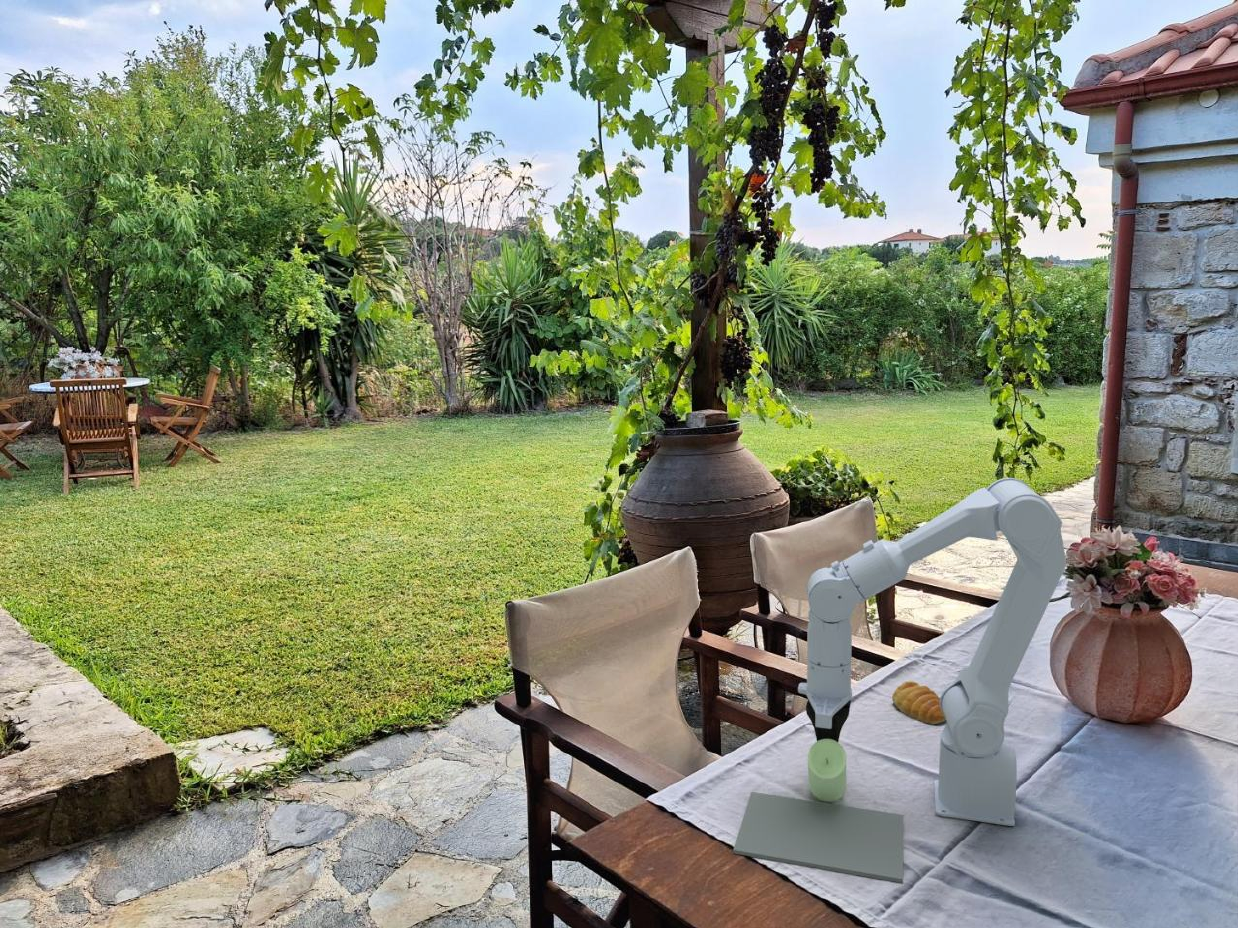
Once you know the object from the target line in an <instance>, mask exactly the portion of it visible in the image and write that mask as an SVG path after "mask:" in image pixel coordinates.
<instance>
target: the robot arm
mask: <svg viewBox="0 0 1238 928" xmlns="http://www.w3.org/2000/svg"><path fill="white" fill-rule="evenodd" d="M1062 525H1063V521H1062V520H1061V518H1060V516H1059V515H1058V514H1057V512H1056V510H1055V509H1054V508H1053V506H1052V505H1051V503H1050V502H1049V501H1048V500H1047V499H1046V498H1045V497H1043V496H1041V495H1040V494H1037V493H1036V492H1035V491H1034V490H1033V489H1032V488H1031V487H1030V486H1029V485H1028V484H1027V483H1026V482H1024V481H1023V480H1021V479H1018V478H1013V477H1003V478H1000V479H997V480H996V481H995V480H994V481H993V482H992V483H991V484H990V485H988V486H987V488H986V487H985V486H984V487H982V488H979V489H977V490H975V491H973V492H972V493H970V494H969V495H968V496H967V497H965V498H963V500H961V501H959V502H958V503H956V504H954V505H953V506H952V507H950V508H948V509H947V510H946V511H943V512H942V513H940V514H938V515H937V516H935V517H934V518H932V519H930V520H928V521H927V522H925V523H924V524H923V525H921V526H919V527H918V528H916V529H914V530H913V531H912V532H910V533H908V534H907V535H905V536H904V537H901V539H898V540H897V541H892V540H887V539H879V540H878V541H876V542H873V541H872V539H869V540H868V541H866V542H864V543H862V547H863V549H862V550H860V551H858V552H857V553H855V554H853V555H851V556H849V557H848V558H845V559H843V560H842V561H840V562H839V561H838V560H835V561H834V562H832V563H831V564H830V567H827V566H826V567H823V568H819V569H817V570H815V572H813V573H812V574H811V576H810V578H809V579H808V581H807V584H806V587H805V589H806V594H807V596H808V597H807V598H808V605H809V611H808V612H807V613H808V616H807V617H808V618H807V619H808V623H807V632H806V633H807V643H806V644H807V646H806V647H807V649H806V650H807V651H806V656H807V657H806V658H807V659H806V660H807V662H806V663H807V665H806V667H807V668H806V672H807V673H806V682H800V683H798V687H797V692H798V693H799V694H802V695H806V697H807V702H806V705H805V712H806V715H807V717H808V718H809V721H810V722H811V724H812V726H813V730H814V734H815V738H816V742H817V741H819V740H822V739H832V740H835V741H836V742H838V743H839V740H840V735H841V732H842V729H843V727H844V725H845V723H846V721H847V719H848V718H849V716H850V711H851V706H852V705H851V703H852V698H853V689H852V687H851V686H852V649H853V648H852V644H853V643H852V642H853V641H852V640H853V639H852V637H853V636H852V635H853V633H852V632H853V627H852V625H851V616H852V615H853V614H854V611H855V609H856V606H857V605H858V604H859V603H863V602H865V601H866V600H868V599H870V598H872V597H874V596H875V595H877V594H879V593H882V592H883V591H885V590H886V589H889V588H890V587H892V586H894V585H895V584H897V583H899V582H902V581H904V580H905V579H906V578H907V575H908V571H909V569H910V567H911V565H912V564H915V563H917V562H919V561H921V560H923V559H925V558H927V557H929V556H931V555H933V554H936V553H938V552H939V551H942V550H943V549H945V548H948V547H949V546H952V545H954V544H956V543H957V542H960V541H962V540H965V539H966V538H975V539H976V538H977V539H981V540H989V541H996V542H997V541H999V539H998V538H999V537H998V535H997V532H1001V534H1002V535H1003V536H1004V537H1005V538H1006V541H1007V542H1008V544H1009V545H1010V548H1011V549H1012V552H1013V553H1014V555H1015V557H1016V563H1015V564H1014V566H1013V569H1012V571H1011V572H1010V575H1009V578H1008V580H1007V582H1006V584H1005V586H1004V589H1003V590H1002V593H1001V594H1000V597H999V600H998V602H997V604H996V606H995V608H994V611H993V613H992V615H991V617H990V619H989V622H988V624H987V626H986V629H985V631H984V633H983V635H982V637H981V639H980V641H979V644H978V646H977V649H976V650H975V652H974V655H973V657H972V659H971V662H970V664H969V665H968V666H966V667H964V668H962V669H961V670H960V671H959V673H958V675H957V677H956V678H955V680H954V681H953V682H952V683H950V684H949V685H948V686H947V687H945V688H944V689H943V691H942V692H941V695H940V708H941V711H942V712H943V714H944V715H945V718H946V720H945V721H946V723H945V726H944V727H943V729H942V731H941V732H940V742H939V745H940V746H939V765H938V767H939V768H938V779H935V780H934V782H933V789H934V807H935V811H934V812H935V814H936V815H938V816H942V817H948V818H954V819H962V820H969V821H974V822H981V823H988V824H995V825H1002V826H1009V827H1014V826H1015V814H1016V813H1015V812H1016V811H1015V810H1016V801H1017V777H1018V776H1017V775H1018V773H1017V772H1018V770H1017V767H1018V765H1017V764H1018V763H1017V753H1016V748H1015V747H1014V746H1012V745H1007V744H1004V741H1005V727H1004V726H1005V721H1006V719H1007V716H1008V714H1009V690H1010V686H1011V685H1012V682H1013V680H1014V678H1015V677H1016V674H1017V672H1018V670H1019V667H1020V665H1021V663H1022V661H1023V659H1024V656H1025V654H1026V653H1027V650H1028V648H1029V646H1030V644H1031V642H1032V639H1033V638H1034V636H1035V633H1036V631H1037V629H1038V627H1039V625H1040V622H1041V620H1042V618H1043V616H1044V614H1045V612H1046V609H1048V605H1049V604H1050V601H1051V599H1052V597H1053V595H1054V593H1055V590H1056V588H1057V586H1058V585H1059V582H1060V580H1061V578H1062V577H1063V576H1062V575H1063V573H1064V571H1065V570H1066V565H1067V558H1066V553H1065V547H1064V542H1063V536H1062Z"/></svg>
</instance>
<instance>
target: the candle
mask: <svg viewBox="0 0 1238 928" xmlns="http://www.w3.org/2000/svg"><path fill="white" fill-rule="evenodd" d="M807 770H808V771H807V772H808V787H809V790H810V791H811V793H812V795H813V796H815V798H817V799H819V800H820V801H821V802H822V801H823V802H825V803H831V802H832V803H833V802H836V801H838V800H840V799H841V798H842V797H843V796H844V795H845V793H846V790H847V753H846V751H845V749H844V747H843V746H842V744H840V743H839V742H836V741H835V740H832V739H822V740H819V741H817V740H816V742H814V743H813V744H812V745H811V747H810V748H809V750H808V754H807Z"/></svg>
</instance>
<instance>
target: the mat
mask: <svg viewBox="0 0 1238 928" xmlns="http://www.w3.org/2000/svg"><path fill="white" fill-rule="evenodd" d="M904 816H905V815H904V814H901V813H895V812H887V811H881V810H874V809H868V808H861V807H856V806H855V807H854V806H848V805H842V804H835V803H830V802H824V801H823V802H822V801H815V800H808V799H802V798H794V797H788V796H782V795H776V794H775V795H774V794H770V793H763V792H755V791H751V792H750V795H749V798H748V801H747V804H746V807H745V811H744V813H743V816H742V817H743V818H742V821H741V824H740V827H739V831H738V834H737V837H736V841H735V843H734V847H733V855H734V854H735V855H739V856H740V855H741V856H747V857H751V858H752V857H753V858H758V859H763V860H770V861H773V862H782V863H787V864H792V865H798V866H804V867H809V868H813V869H814V868H816V869H821V870H826V871H832V872H839V873H843V874H844V873H845V874H849V875H854V876H860V877H868V878H873V879H878V880H884V881H888V882H895V883H900V884H901V883H902V884H903V883H904V818H905V817H904Z"/></svg>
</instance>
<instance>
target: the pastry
mask: <svg viewBox="0 0 1238 928" xmlns="http://www.w3.org/2000/svg"><path fill="white" fill-rule="evenodd" d="M940 697H941V696H940ZM940 697H939V695H937V694H936V692H935V691H934V690H931V689H930V688H929V686H927V685H920V684H918V682H916V681H905V682H902V684H901V685H899V686H897V687H896V688H895V691H894V692H893V694H892V701H893V704H894V705H895V707H896V709H898V710H900V712H901V713H902V714H904V715H906V716H908V717H911V718H912V719H915V720H916V721H919V722H922V723H925V724H929V725H936V724H937V725H938V724H940V723H944V722H946V721H947V720H946V718H945V715H944V714H943V712H942V711H941V708H940Z"/></svg>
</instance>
